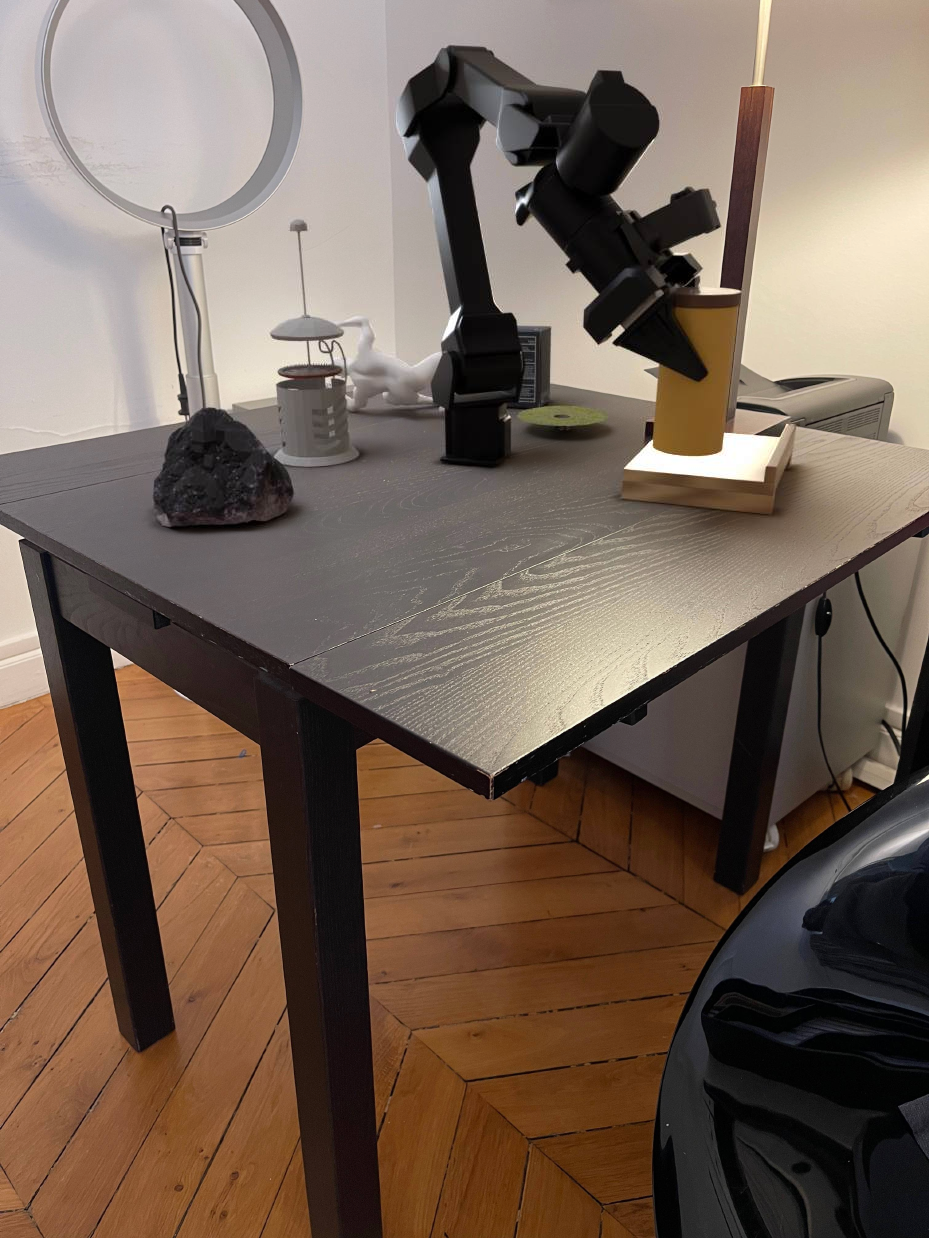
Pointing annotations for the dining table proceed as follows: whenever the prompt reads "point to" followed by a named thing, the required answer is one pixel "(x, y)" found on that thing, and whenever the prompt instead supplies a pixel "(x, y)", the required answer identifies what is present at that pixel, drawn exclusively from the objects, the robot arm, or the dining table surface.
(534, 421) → the green disc
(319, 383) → the french press
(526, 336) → the small box
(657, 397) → the tea tin
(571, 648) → the dining table surface
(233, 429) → the crystal cluster
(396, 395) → the white curved figure
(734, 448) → the oak shelf
